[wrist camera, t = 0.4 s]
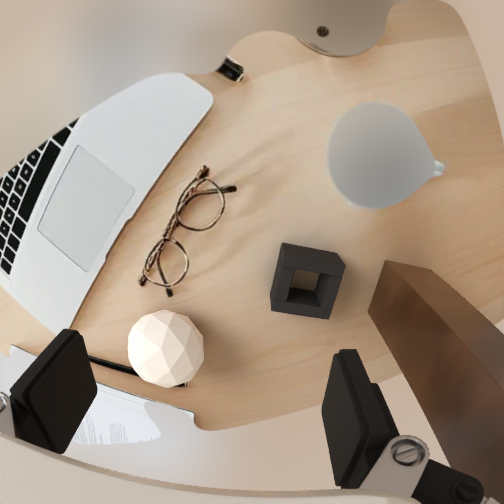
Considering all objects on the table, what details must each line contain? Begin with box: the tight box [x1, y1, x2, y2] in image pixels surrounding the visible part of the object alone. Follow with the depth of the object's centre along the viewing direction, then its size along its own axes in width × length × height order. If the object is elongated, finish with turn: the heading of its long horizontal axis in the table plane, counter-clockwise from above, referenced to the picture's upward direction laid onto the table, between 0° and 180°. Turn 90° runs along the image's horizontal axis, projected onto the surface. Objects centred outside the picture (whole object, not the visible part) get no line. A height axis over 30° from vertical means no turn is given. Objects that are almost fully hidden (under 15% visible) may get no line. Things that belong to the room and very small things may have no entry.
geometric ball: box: [128, 309, 204, 388], centre depth 30 cm, size 8×8×8 cm
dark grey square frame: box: [270, 243, 345, 319], centre depth 29 cm, size 6×6×3 cm
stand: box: [368, 260, 504, 504], centre depth 18 cm, size 8×8×28 cm
